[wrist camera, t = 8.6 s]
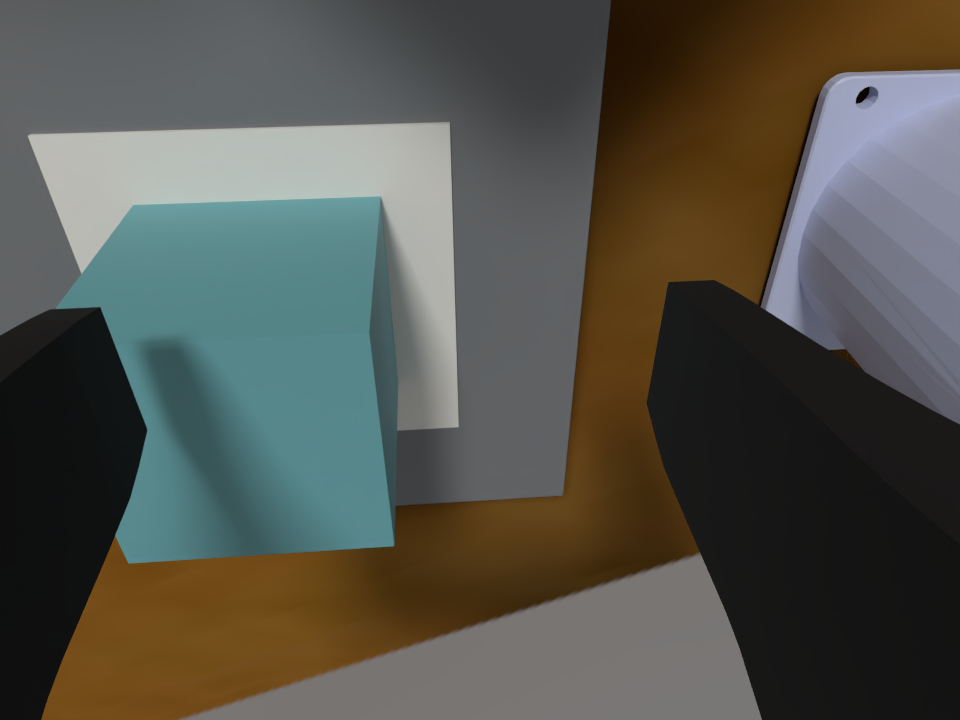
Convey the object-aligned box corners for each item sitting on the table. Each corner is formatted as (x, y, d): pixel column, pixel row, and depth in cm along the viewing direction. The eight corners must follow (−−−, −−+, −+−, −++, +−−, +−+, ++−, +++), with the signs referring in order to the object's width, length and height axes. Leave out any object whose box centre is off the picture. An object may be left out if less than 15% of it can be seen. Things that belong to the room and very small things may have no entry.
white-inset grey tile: (583, -74, 15) (617, -56, 12) (546, 426, 23) (563, 497, 21) (-122, -65, 14) (-238, -43, 11) (107, 451, 22) (68, 528, 20)
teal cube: (380, 196, 15) (369, 332, 11) (398, 384, 18) (394, 545, 14) (132, 204, 14) (25, 348, 10) (194, 395, 17) (128, 563, 13)
